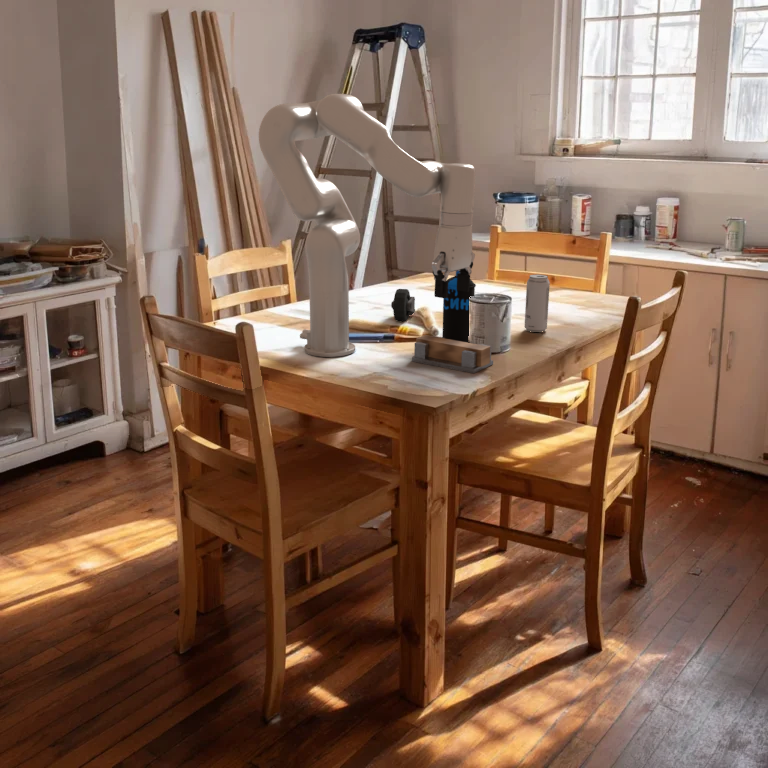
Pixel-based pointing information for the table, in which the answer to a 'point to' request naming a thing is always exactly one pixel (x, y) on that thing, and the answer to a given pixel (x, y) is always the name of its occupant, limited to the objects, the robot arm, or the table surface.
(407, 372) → the table surface
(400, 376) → the table surface
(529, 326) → the energy drink can
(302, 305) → the table surface
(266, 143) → the robot arm
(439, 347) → the rail
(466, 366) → the cradle
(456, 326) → the aerosol can
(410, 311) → the caster wheel
